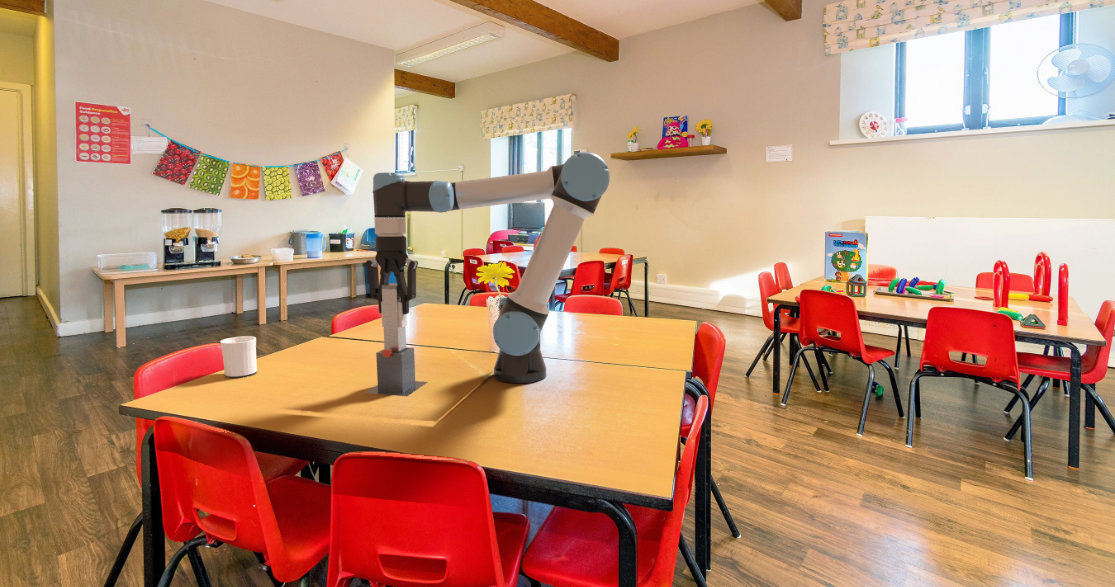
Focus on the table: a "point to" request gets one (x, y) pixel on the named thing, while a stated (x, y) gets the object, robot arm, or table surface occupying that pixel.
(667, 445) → the table surface
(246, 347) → the mug
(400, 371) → the stand housing
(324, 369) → the table surface
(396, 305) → the column
